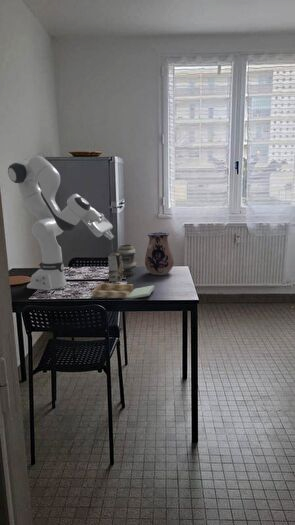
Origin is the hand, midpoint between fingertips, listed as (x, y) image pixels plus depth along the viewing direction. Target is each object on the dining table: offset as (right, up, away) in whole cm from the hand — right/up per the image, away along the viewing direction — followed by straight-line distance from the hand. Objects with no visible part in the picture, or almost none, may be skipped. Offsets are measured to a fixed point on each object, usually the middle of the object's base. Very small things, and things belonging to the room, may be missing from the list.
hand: (112, 238), depth 210 cm
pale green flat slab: (+10, -29, +1) cm, 30 cm away
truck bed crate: (0, -29, +3) cm, 30 cm away
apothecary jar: (+6, -19, +45) cm, 49 cm away
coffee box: (0, -23, +29) cm, 37 cm away
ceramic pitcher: (+26, -19, +43) cm, 54 cm away
